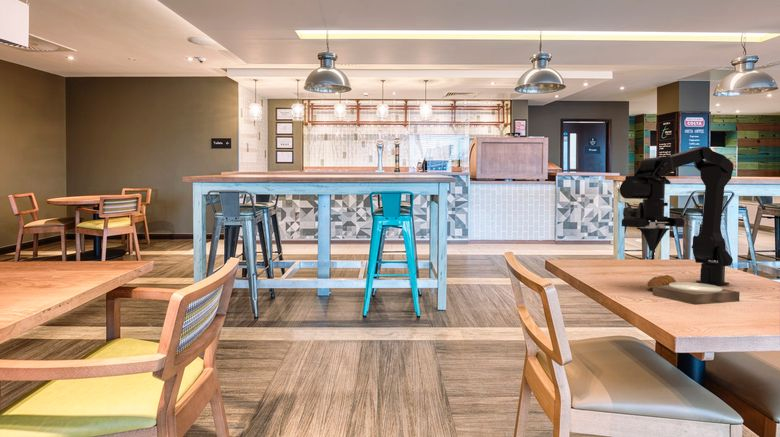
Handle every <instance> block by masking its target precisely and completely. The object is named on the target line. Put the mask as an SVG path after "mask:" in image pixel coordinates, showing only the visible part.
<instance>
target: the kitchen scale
mask: <svg viewBox="0 0 780 437" xmlns="http://www.w3.org/2000/svg"><path fill="white" fill-rule="evenodd" d="M740 292H741V291H738V290H732V289H726V288H723V287H722V286H719V285H712V284H706V283H700V282H691V281H690V282H687V281H685V282H684V281H676V282H673V283H669V285H663V286H653V288H652V296H656V297H661V298H665V299H668V300H674V301H678V302H682V303H688V304H692V305H703V304H715V303H717V304H718V303H727V302H731V303H732V302H740Z"/></svg>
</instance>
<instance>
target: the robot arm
mask: <svg viewBox="0 0 780 437" xmlns="http://www.w3.org/2000/svg"><path fill="white" fill-rule="evenodd" d="M689 164H694V168H695V169H697V170H698V171H699V172H700V173H699V174H700V179H701V181H702V183H703V184H704V185H703V186H704V187H705V188H704V197H703V207H702V208H703V209H702V221H701V229H700V232H699V233H698V234H697V235H693V236H692V245H691V249H692V254H693V256H694V261H695V263H697V264H700V272H699V273H700V274H699V275H700V276H699V279H698V280H697V279H696V281H695V283H702V284H709V285H715V286H719V285H720V286H721V285H722V286H723V285H730V282H728V281H727V282H726V281H725V279H726V278H725V277H726V275H725V274H726V267H729V266H730V267H731V266H732V264H733V261H734V259H733V257H732V256H731V254H730V253H728V250H727V248H726V241H725V239H724V237H723V235H722V233H721V229H722V228H721V226H722V217H723V207H724V206H723V205H724V197H725V196H724V194H725V187H726V186H727V184H729V182H730V181H731V179H732V176H733V171H734V169H735V168H734V163H733V162H732V161H731V160H730V159H729V158H728V157H727V156H726V155H724V154H722V153H719V152H716V151H715V150H712V149H711V148H710V147H709V146H704V145H703V146H697V147H692V148H690V149H687V150H684V151H681V152H677V153H674V154H670V155H667V156H665V155H664V156H655V157H647V158H643V159H642V160H641V163H640V164H639V167H638V168H637V169H636V171H635V172H634V174H633V175H626V176H625V179H624V180H623V181H622V183H621V184H620V186H619V194H620V196H621V197H622V198H623V199H626V200H627V199H628V200H629V199H630V200H631V199H632V200H635V199H637V200H642V202H639V204H638V207H637V208H632V207H631V206H626V207H624V208H623V211H622V215H623V218H622V219H621V227H626V228H628V227H629V228H636V229H637V230H638V231H640V232H641V233H642V234H643V236H644V238H645V241H646V244H647V247H648V250H649V251H650V252H655V251H656V250H657V248H658V246H659V244H660V242H661V241H662V239H663V238H664V236H665V235H666V233H667V232H668V231H670V228H669V227H675V228H684V227H685V220H684V219H683V217H668V216H666V215H665V207H668V206H669V205H668V202H665V201H666V200H665V195H666V194H665V192H666V191H665V189H666V185H671V180H669V179H668V178H667V177H666V176H667V175H668V174H670V173H672V172H673V171H674V170H675V169H677V168H679V167H683V166H685V165H686V166H687V165H689ZM667 227H668V228H667Z"/></svg>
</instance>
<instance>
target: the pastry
mask: <svg viewBox="0 0 780 437" xmlns="http://www.w3.org/2000/svg"><path fill="white" fill-rule="evenodd" d="M673 282H677V281H676V279H675V278H674V276H671V275H668V274H666V275H658V276H654V277H651V279H650V280H648V282H647V284H646V285H647V289H649V288H651V289H653V286H663V285H669V283H673Z"/></svg>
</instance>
